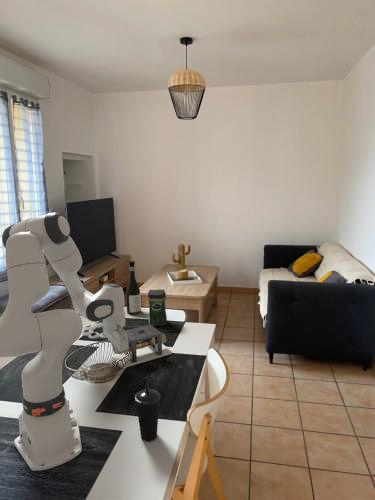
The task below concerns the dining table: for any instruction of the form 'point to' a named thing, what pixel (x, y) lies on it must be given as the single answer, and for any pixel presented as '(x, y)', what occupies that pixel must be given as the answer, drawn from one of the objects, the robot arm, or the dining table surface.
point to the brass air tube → (145, 343)
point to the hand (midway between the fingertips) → (116, 352)
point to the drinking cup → (148, 412)
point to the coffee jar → (157, 307)
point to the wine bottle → (133, 293)
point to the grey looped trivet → (90, 331)
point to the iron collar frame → (147, 333)
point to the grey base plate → (144, 355)
